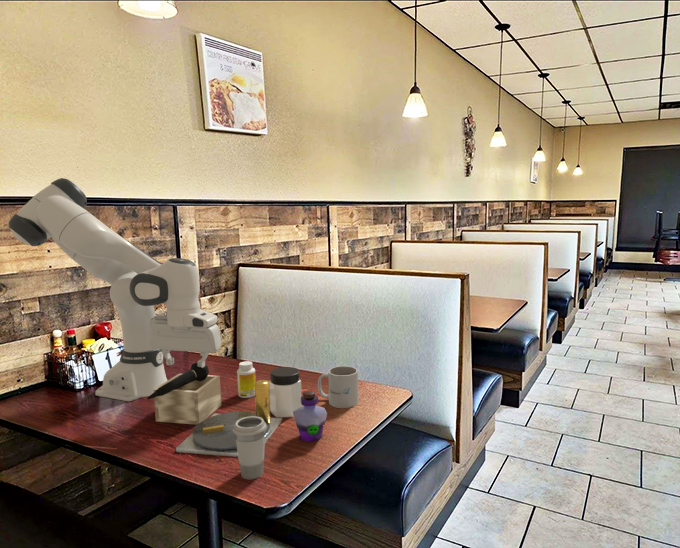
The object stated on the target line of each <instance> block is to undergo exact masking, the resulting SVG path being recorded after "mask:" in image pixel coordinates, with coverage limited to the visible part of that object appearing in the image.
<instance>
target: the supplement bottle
mask: <svg viewBox="0 0 680 548" xmlns="http://www.w3.org/2000/svg"><path fill="white" fill-rule="evenodd" d="M238 366H239V367H238V369H237V370H236V378H237V379H236V380H237V382H236V383H237V394H238V395H237V396H238V397H240V398H241V399H242V398H243V399H250V398H253V397H255V384H254V383H255V382H256V381H257V379H256V377H257V375H256V369H255V367H253V362H252V361H251V360H250V361H249V360H247V361H242V362H241V361H240V362H239V364H238Z"/></svg>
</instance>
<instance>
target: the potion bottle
mask: <svg viewBox="0 0 680 548" xmlns="http://www.w3.org/2000/svg"><path fill="white" fill-rule="evenodd" d="M316 393H317V392H316V391H314V390H308V391H304V392H302V397H301V404H302V407H300V408H298V409H296V410H295V411H293V414H294V416H293V418H294V422H295V424H296V425H295V426H296V428H297V430H298V433H299V434H298V435H299V437H300V440H301V441H303V442H307V443H311V442H316V441H319V440H320V439H322V437H323V431H324V427H325V425H326V420H327V416H328V412H327V411H326V409H325V408H326V407H324V406H318V404H319V397H318V395H317V394H316Z"/></svg>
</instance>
